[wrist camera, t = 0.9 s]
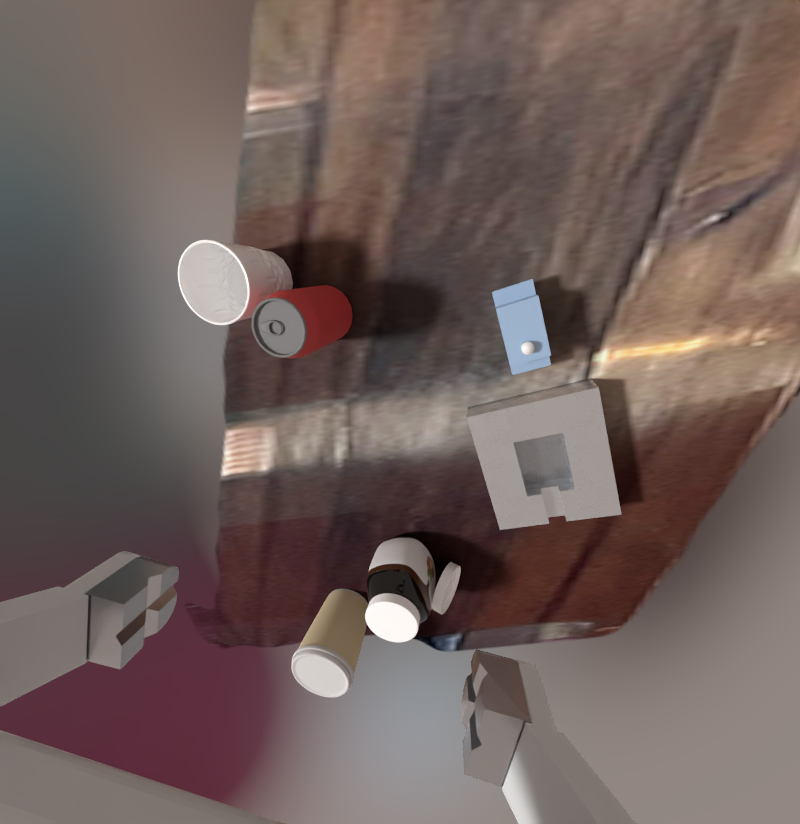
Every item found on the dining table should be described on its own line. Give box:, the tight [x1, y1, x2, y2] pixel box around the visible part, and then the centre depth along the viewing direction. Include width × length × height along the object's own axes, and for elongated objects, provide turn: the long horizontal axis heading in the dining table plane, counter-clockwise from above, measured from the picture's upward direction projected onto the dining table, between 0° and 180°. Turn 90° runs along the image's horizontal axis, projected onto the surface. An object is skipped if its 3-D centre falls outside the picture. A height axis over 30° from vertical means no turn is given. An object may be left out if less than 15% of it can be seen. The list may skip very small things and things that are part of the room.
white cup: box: [178, 240, 293, 325], centre depth 41 cm, size 8×8×10 cm
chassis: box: [467, 379, 621, 530], centre depth 44 cm, size 14×16×3 cm
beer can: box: [252, 285, 353, 358], centre depth 40 cm, size 7×7×12 cm
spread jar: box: [365, 536, 461, 642], centre depth 51 cm, size 12×11×12 cm
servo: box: [492, 279, 551, 375], centre depth 38 cm, size 4×9×6 cm, turn 19°
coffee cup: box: [292, 589, 368, 697], centre depth 58 cm, size 9×9×12 cm
